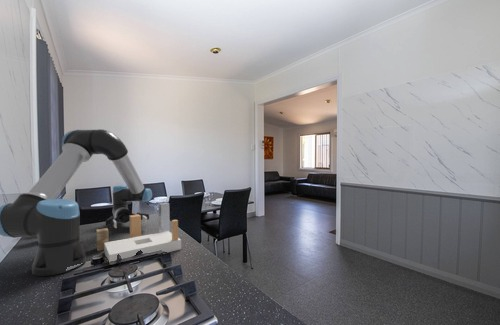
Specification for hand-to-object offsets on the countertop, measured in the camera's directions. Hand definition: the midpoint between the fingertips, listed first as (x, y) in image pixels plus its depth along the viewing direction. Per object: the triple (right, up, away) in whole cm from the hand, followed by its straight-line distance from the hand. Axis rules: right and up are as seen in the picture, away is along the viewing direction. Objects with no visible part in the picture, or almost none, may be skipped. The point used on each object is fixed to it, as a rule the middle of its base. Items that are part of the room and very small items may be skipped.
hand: (131, 222), depth 119 cm
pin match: (+5, -7, -7) cm, 11 cm away
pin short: (-5, -7, -15) cm, 17 cm away
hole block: (+14, -7, -19) cm, 24 cm away
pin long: (+16, -7, 0) cm, 17 cm away
